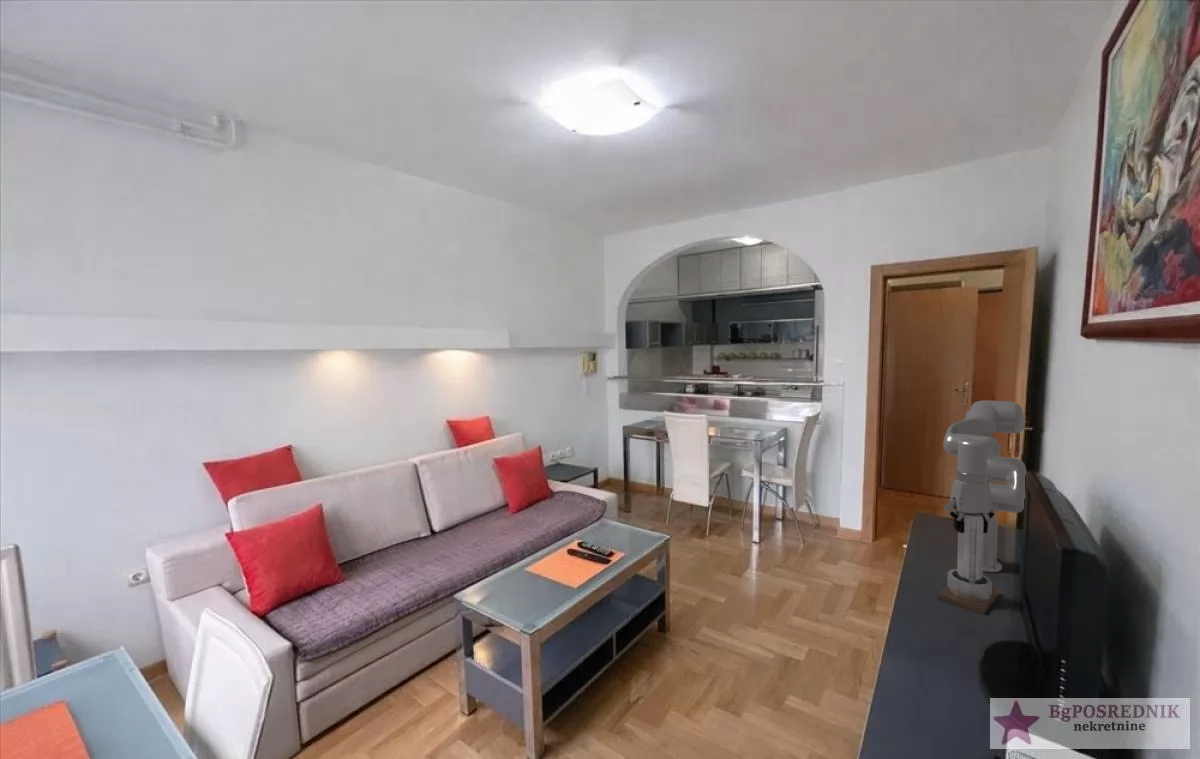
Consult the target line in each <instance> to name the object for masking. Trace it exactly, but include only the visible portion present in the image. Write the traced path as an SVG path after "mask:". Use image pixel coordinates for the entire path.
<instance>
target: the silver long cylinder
mask: <svg viewBox="0 0 1200 759" xmlns="http://www.w3.org/2000/svg"><path fill="white" fill-rule="evenodd" d="M961 521H963V533H959V532H958V531H957V555H956V556H957V562H956V565H957V568H956V569H957V579H959V580H961V581H964V582H968V583H972V584H982V575H984V574H983V573H984V571H983V538H984V518H983V516H982V515H981V514H979V513H965V514H964V515H963V517H962V519H961Z"/></svg>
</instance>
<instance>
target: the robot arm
mask: <svg viewBox="0 0 1200 759" xmlns="http://www.w3.org/2000/svg"><path fill="white" fill-rule="evenodd" d="M1024 415H1025V414H1024V410H1023V408H1022V407H1021V405H1020V404H1019V403H1017V402H1015V401H1010V400H1007V401H1006V400H1005V401H1004V400H990V399H989V400H985V399H984V400H978V401H975V402H973V403H972V404H971V406H970V408H969V410H968V411H967V412H965V415H964V419H962V420H960V421H957V422H955V423H953V424H951V425H950V426H949V427H948V428H947V430H946V431H945V432H946V433H945V435H944V439H943V443H942V444H943V450H944V451H945V452H946V454H948V455H951V456H957V463H956V464H957V466H956V467H957V470H956V471H957V472H956V473H957V474H956V475H957V476H956V479H954V480H953V483H952V485H951V491H950V499H949V500H950V501H949V502H948V503H947V504H946V505H945V506H943V509H944V511H945V512H947V514H948V515H949V516H951V517H952V518H953V528H954V530H955V531H956V532H957V533H958V532H959V533H963V521H961V519H962V517H963V515H964V514H965V513H979V514H981V515H982V516H983V518H984V538H983V572H986V573H997V572H1001V571H1002V570H1003V566H1002V565H1003V564H1001V563H1000V562H998V561H997V560H998V557H997V556H998V555H997V553H998V520H997V517H996V516H995V515H996V514H997V513H998V512H999V511H1002V512H1008V513H1016V514H1019V513H1021V512H1023V511H1024V508H1025V506H1024V499H1025V500H1026V493H1025V475H1026V476H1027V468H1026V465H1025V463H1024V462H1023V460H1021V459H1018V458H1016V457H1009V456H1007V457H1006V456H1002V455H1001V449H1002V445H1001V444H1000V443H999V441H998V440H997V439H996V438H995V437H994V436H993V435H994V434H995V433H1006V434H1019V433H1021V432H1022V431H1023V430H1024V427H1025V424H1026V420H1025V416H1024ZM953 509H954V511H953Z"/></svg>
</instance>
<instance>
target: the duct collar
mask: <svg viewBox="0 0 1200 759" xmlns="http://www.w3.org/2000/svg"><path fill="white" fill-rule="evenodd" d="M1000 595H1001V589H998V588H996V587H993V582H992V580H991V579H990V578H989V577H988V576H986V575H984V574H983V575H982V584H972V583H968V582H964V581H961V580H959V579H957V568H953V569H950V570H949V571H948V572H947V584H946V585H945V586H944V587H943V588H942V589H941V590H940V591H939V592H938V593H937V599H939V600H941V601H944V602H947V603H950V604H953V605H956V606H958V607H962V608H963V609H968V610H970V611H973V612H976V613H979V614H982V615H985V614H986V613H987V611H988V610H989V609H990V608H991V606H992V605H993V604H994V603H995V602H996V600H997V598H998V597H999V596H1000Z"/></svg>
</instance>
